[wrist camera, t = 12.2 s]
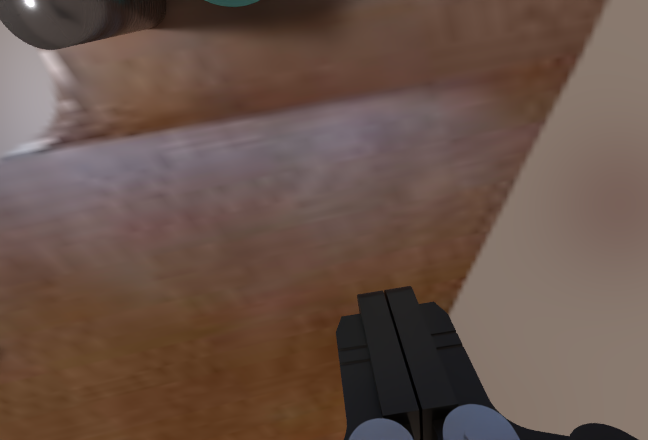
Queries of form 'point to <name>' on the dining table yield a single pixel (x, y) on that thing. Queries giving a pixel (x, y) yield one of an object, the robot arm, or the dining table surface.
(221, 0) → the ball
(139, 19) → the post
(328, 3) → the dining table surface
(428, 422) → the robot arm
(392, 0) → the dining table surface
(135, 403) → the dining table surface
